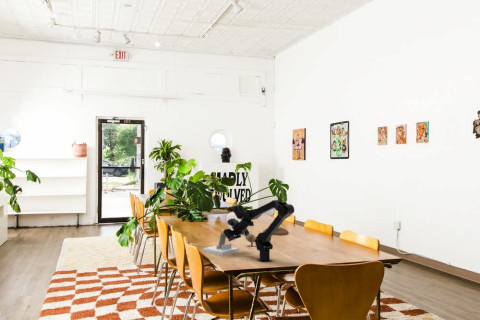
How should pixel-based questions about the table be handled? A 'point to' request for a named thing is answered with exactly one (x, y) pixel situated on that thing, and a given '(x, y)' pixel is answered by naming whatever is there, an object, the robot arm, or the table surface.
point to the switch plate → (221, 249)
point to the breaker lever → (222, 239)
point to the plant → (280, 231)
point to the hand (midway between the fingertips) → (229, 240)
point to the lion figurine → (251, 239)
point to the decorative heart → (231, 218)
